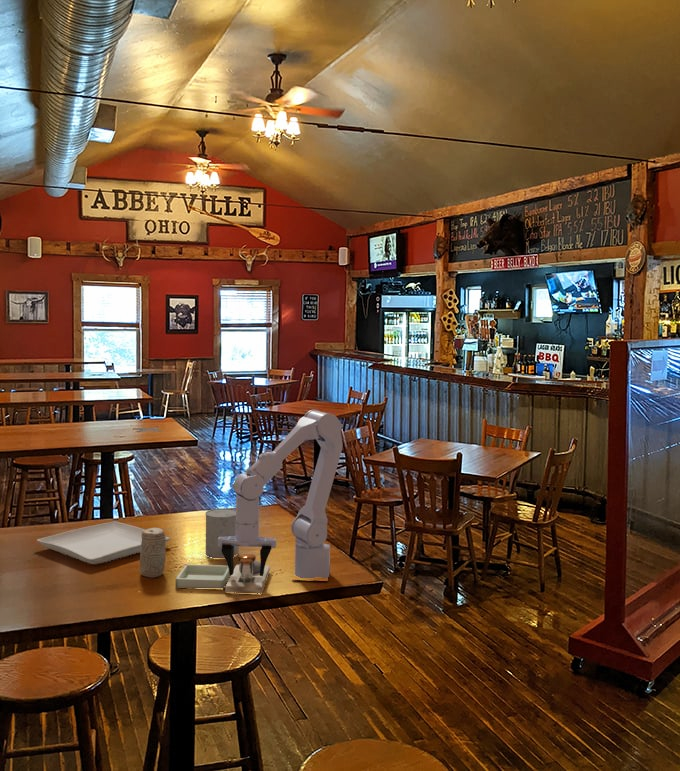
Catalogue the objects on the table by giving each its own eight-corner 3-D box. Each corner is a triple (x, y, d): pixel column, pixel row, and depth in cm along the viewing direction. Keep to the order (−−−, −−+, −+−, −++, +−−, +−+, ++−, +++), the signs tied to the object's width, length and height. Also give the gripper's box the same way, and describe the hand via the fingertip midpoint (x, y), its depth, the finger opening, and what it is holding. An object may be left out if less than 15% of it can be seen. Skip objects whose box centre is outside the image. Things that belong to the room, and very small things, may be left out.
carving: (150, 581, 189) (150, 535, 188) (134, 574, 194) (133, 529, 193) (171, 575, 194) (171, 530, 193) (154, 568, 199) (154, 524, 198)
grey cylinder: (206, 561, 206) (207, 518, 204) (203, 550, 215) (204, 509, 214) (241, 558, 208) (241, 516, 207) (236, 548, 217) (236, 507, 216)
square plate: (91, 572, 196) (91, 558, 195) (35, 551, 212) (34, 538, 212) (171, 548, 217) (171, 535, 217) (114, 531, 233) (114, 519, 233)
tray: (230, 574, 195) (231, 565, 195) (223, 590, 184) (223, 580, 184) (186, 573, 195) (186, 564, 195) (175, 588, 184) (175, 578, 184)
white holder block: (269, 572, 197) (269, 555, 197) (261, 595, 181) (261, 576, 181) (236, 571, 197) (236, 554, 197) (225, 594, 181) (225, 575, 181)
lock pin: (256, 584, 188) (256, 554, 188) (253, 590, 184) (254, 559, 183) (239, 583, 189) (239, 553, 188) (236, 590, 184) (236, 559, 183)
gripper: (215, 525, 181) (215, 578, 182) (274, 526, 181) (273, 580, 182) (220, 517, 188) (220, 569, 189) (277, 519, 188) (276, 570, 189)
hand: (246, 574), depth 186 cm, fingers open, 7 cm apart
